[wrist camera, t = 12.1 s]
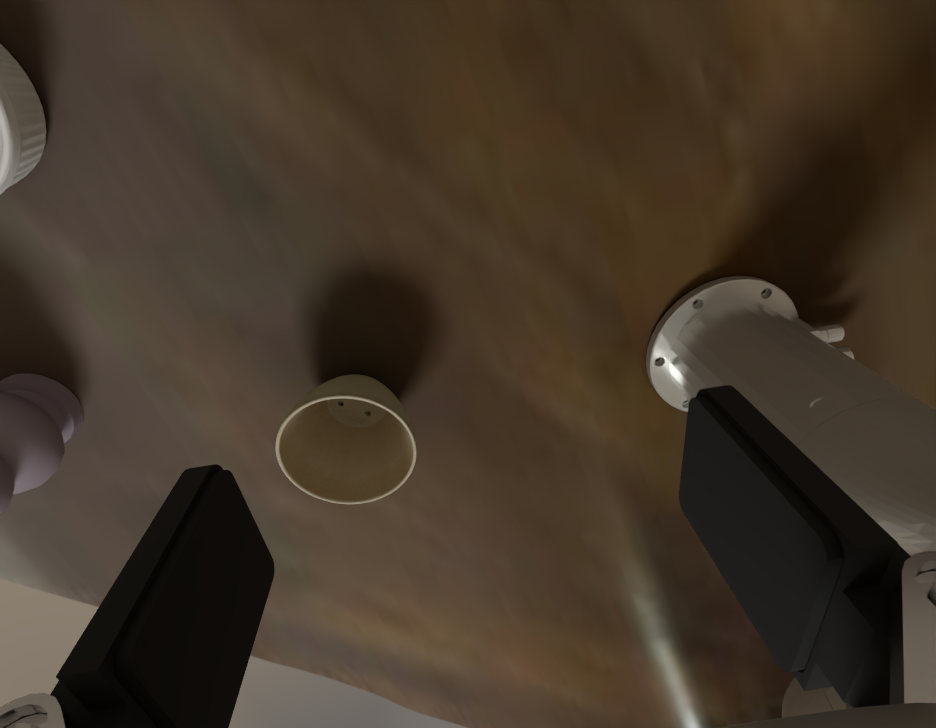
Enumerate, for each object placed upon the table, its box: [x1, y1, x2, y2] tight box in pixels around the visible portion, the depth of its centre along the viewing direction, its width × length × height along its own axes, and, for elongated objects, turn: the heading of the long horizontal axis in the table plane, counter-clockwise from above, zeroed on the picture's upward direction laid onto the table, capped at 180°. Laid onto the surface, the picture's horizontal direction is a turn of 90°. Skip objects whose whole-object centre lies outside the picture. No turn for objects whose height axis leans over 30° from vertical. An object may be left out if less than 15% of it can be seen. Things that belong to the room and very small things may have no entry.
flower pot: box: [276, 374, 417, 504], centre depth 39 cm, size 10×10×7 cm
